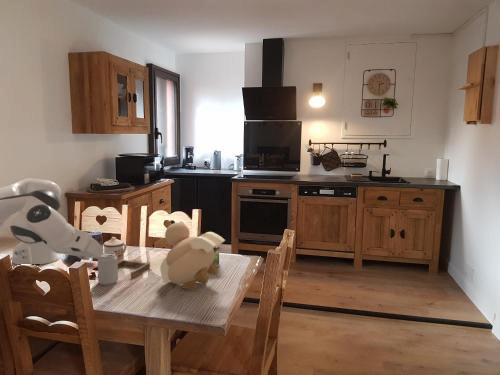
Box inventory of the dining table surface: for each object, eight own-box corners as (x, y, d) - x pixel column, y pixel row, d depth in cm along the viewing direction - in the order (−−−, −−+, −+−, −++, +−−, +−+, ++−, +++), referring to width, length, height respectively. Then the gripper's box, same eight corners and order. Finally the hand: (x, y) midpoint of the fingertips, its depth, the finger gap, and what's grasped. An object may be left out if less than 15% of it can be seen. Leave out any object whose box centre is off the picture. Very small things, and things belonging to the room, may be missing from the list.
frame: (104, 274, 163) (104, 268, 162) (122, 265, 175) (122, 259, 175) (133, 278, 159) (133, 272, 159) (149, 268, 171) (149, 263, 171)
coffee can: (223, 265, 177) (223, 236, 175) (204, 269, 171) (204, 239, 169) (212, 259, 185) (212, 231, 184) (193, 263, 179) (193, 234, 178)
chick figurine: (204, 200, 158) (172, 210, 137) (244, 255, 153) (218, 273, 133) (160, 240, 169) (125, 254, 148) (196, 292, 165) (165, 314, 144)
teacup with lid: (113, 265, 175) (112, 241, 173) (99, 262, 179) (99, 238, 177) (132, 258, 185) (132, 235, 183) (119, 255, 189) (119, 232, 188)
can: (111, 286, 150) (110, 257, 148) (94, 284, 151) (93, 256, 150) (121, 279, 157) (120, 252, 156) (105, 278, 159) (104, 250, 157)
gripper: (36, 243, 131) (59, 262, 142) (85, 250, 125) (105, 269, 136) (46, 228, 135) (67, 247, 145) (94, 233, 129) (113, 253, 140)
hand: (86, 258), depth 141 cm, fingers closed
